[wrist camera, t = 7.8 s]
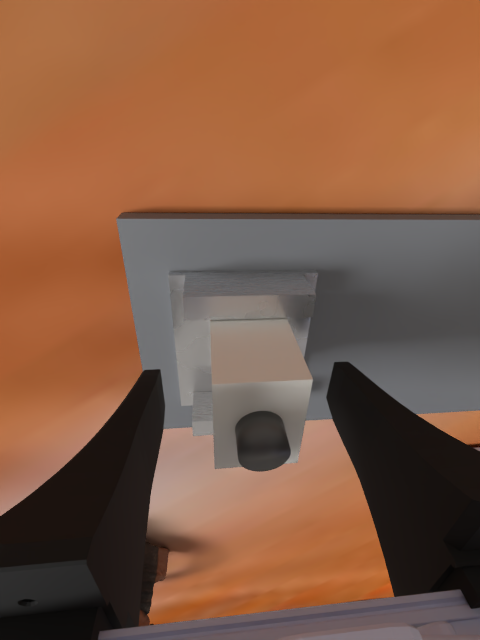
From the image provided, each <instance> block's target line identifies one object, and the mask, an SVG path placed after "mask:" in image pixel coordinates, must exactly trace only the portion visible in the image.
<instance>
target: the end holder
mask: <svg viewBox="0 0 480 640" xmlns="http://www.w3.org/2000/svg"><path fill="white" fill-rule="evenodd" d="M317 277H318V273H317V271H316V270H265V271H185V272H169V274H168V278H169V288H170V298H171V308H172V318H173V328H174V338H175V348H176V358H177V368H178V378H179V389H180V399H181V406H191V405H193V412H192V428H193V436H202V435H214V433H213V404H212V372H211V335H210V320H226V319H263V318H287V320H288V322H289V325H290V327H291V329H292V332H293V334H294V336H295V339H296V341H297V343H298V346H299V348H300V350H301V353H302V355H303V357H304V356H305V350H306V344H307V338H308V332H309V326H310V320H311V317H313V311H314V305H315V299H316V293H315V289H316V283H317Z"/></svg>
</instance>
